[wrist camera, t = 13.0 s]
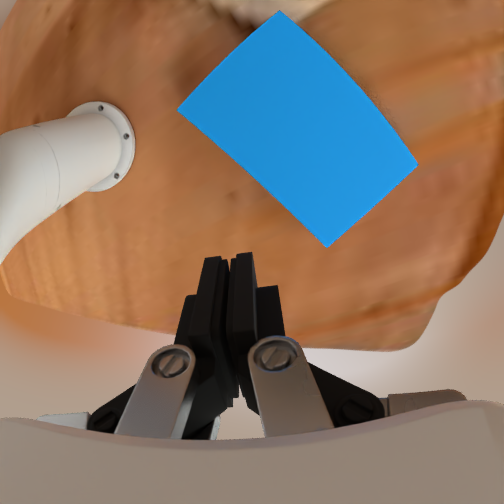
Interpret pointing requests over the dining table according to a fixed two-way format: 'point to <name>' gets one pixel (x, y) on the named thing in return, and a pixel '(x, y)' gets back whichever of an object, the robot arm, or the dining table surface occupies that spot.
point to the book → (300, 128)
